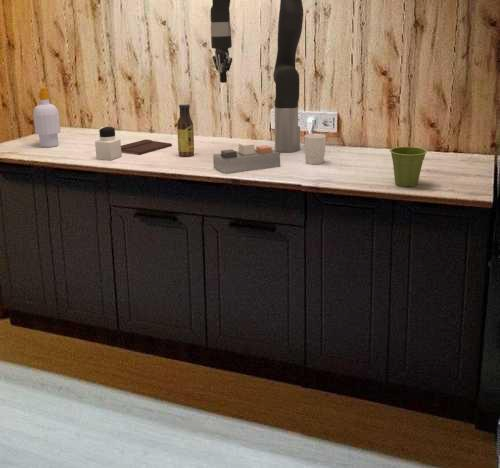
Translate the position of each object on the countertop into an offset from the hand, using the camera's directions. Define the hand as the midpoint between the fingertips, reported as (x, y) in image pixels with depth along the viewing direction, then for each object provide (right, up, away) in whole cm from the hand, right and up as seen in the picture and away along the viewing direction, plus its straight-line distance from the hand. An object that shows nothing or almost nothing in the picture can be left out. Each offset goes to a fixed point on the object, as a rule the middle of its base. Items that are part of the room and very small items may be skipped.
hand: (223, 82), depth 275 cm
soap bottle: (-75, -20, +35) cm, 85 cm away
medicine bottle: (-45, -27, +10) cm, 54 cm away
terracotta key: (+15, -29, -7) cm, 33 cm away
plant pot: (+61, -41, -36) cm, 82 cm away
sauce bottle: (-15, -26, +12) cm, 33 cm away
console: (+9, -33, -9) cm, 35 cm away
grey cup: (+34, -31, -4) cm, 46 cm away
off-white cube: (+9, -28, -10) cm, 31 cm away
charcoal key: (+2, -31, -13) cm, 33 cm away
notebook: (-34, -22, +26) cm, 49 cm away
